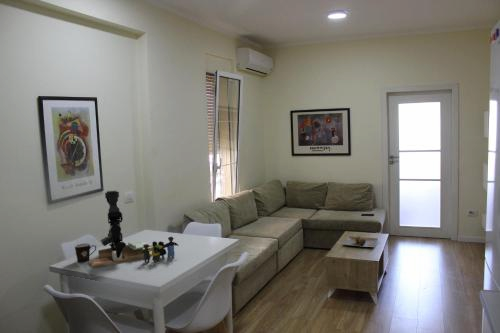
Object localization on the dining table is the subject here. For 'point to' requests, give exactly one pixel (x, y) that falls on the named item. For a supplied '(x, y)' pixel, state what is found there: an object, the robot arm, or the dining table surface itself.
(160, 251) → the doll family
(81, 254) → the coffee mug
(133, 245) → the sage cover
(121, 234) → the robot arm
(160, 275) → the dining table surface
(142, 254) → the puzzle board
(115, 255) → the cream block
